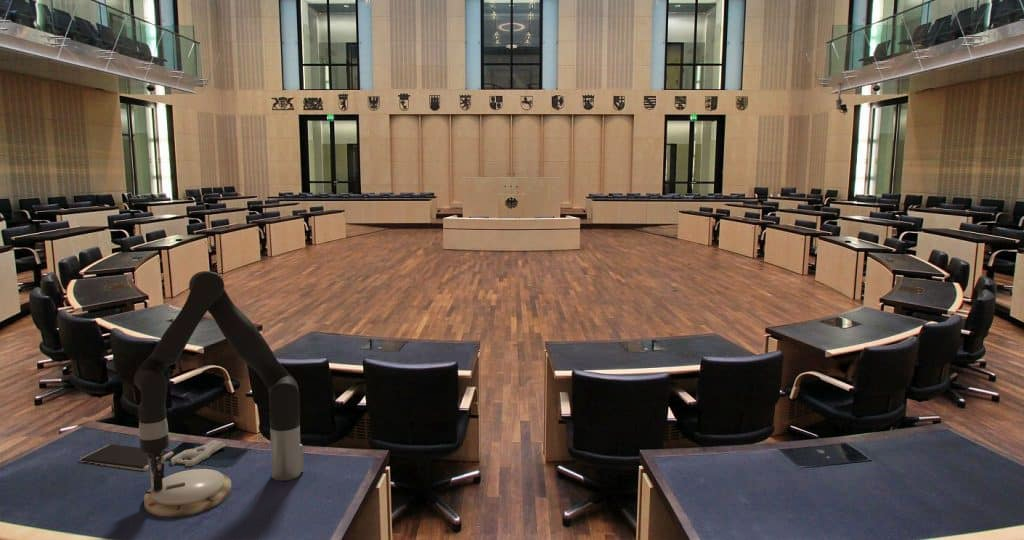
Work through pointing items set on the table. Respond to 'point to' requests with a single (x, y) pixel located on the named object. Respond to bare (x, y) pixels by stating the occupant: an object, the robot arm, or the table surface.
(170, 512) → the dial base
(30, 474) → the table surface
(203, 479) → the dial
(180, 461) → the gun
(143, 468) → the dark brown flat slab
